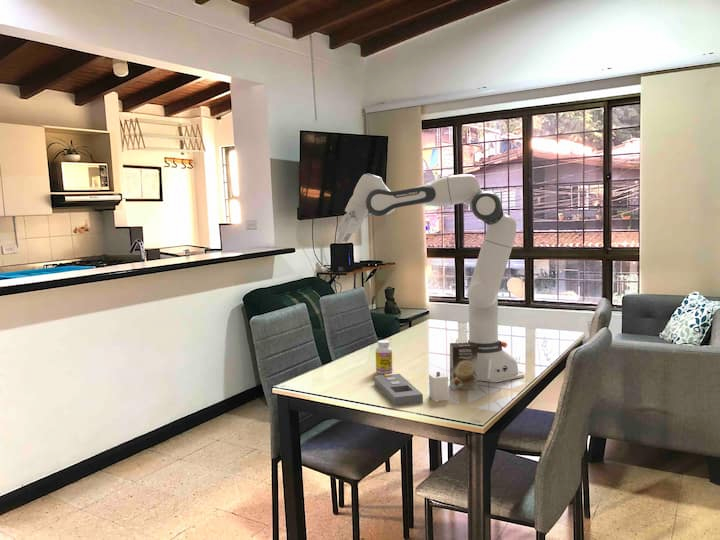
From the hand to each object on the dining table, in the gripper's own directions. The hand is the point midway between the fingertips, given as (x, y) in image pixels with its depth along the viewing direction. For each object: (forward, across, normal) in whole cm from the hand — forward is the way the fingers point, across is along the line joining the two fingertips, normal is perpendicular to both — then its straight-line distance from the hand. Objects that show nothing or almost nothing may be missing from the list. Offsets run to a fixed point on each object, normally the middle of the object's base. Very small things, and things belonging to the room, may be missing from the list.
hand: (341, 242), depth 231 cm
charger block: (+28, -27, -62) cm, 73 cm away
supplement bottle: (+40, +1, -39) cm, 56 cm away
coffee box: (+25, -14, -68) cm, 74 cm away
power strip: (+35, -24, -48) cm, 64 cm away
